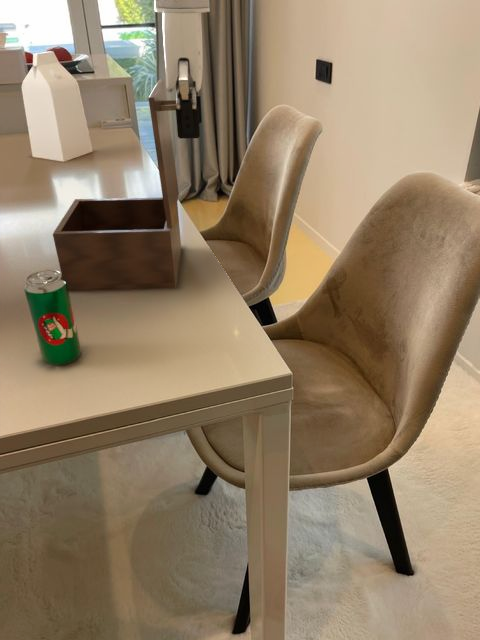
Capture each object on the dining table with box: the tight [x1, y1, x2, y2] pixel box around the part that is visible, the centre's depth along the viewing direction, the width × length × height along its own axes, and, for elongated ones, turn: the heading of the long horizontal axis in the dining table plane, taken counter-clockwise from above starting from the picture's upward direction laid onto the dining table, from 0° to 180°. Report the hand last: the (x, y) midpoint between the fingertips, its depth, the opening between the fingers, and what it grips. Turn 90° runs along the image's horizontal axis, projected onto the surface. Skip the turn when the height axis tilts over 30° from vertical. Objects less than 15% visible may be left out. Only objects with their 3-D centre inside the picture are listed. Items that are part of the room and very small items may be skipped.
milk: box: [21, 50, 93, 163], centre depth 154 cm, size 12×12×26 cm
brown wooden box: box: [52, 196, 182, 292], centre depth 96 cm, size 18×16×10 cm
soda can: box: [23, 269, 82, 366], centre depth 73 cm, size 5×5×12 cm
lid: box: [148, 78, 180, 228], centre depth 88 cm, size 19×16×5 cm
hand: (190, 130), depth 86 cm, fingers open, 9 cm apart
